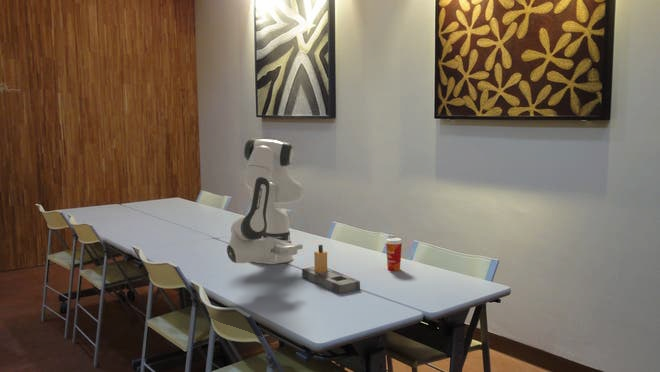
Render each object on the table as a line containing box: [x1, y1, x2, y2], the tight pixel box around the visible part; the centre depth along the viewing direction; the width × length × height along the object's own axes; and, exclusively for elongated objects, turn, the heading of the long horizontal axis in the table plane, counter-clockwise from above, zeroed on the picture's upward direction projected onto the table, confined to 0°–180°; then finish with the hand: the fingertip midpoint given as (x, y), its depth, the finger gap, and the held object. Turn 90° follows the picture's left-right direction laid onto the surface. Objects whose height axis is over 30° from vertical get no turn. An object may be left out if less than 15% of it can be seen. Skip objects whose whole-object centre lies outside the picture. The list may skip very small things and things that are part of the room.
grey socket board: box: [301, 266, 361, 295], centre depth 250 cm, size 30×10×4 cm, turn 33°
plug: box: [313, 244, 328, 273], centre depth 255 cm, size 4×4×15 cm
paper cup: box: [385, 237, 403, 272], centre depth 268 cm, size 8×8×14 cm
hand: (296, 244), depth 247 cm, fingers open, 8 cm apart
